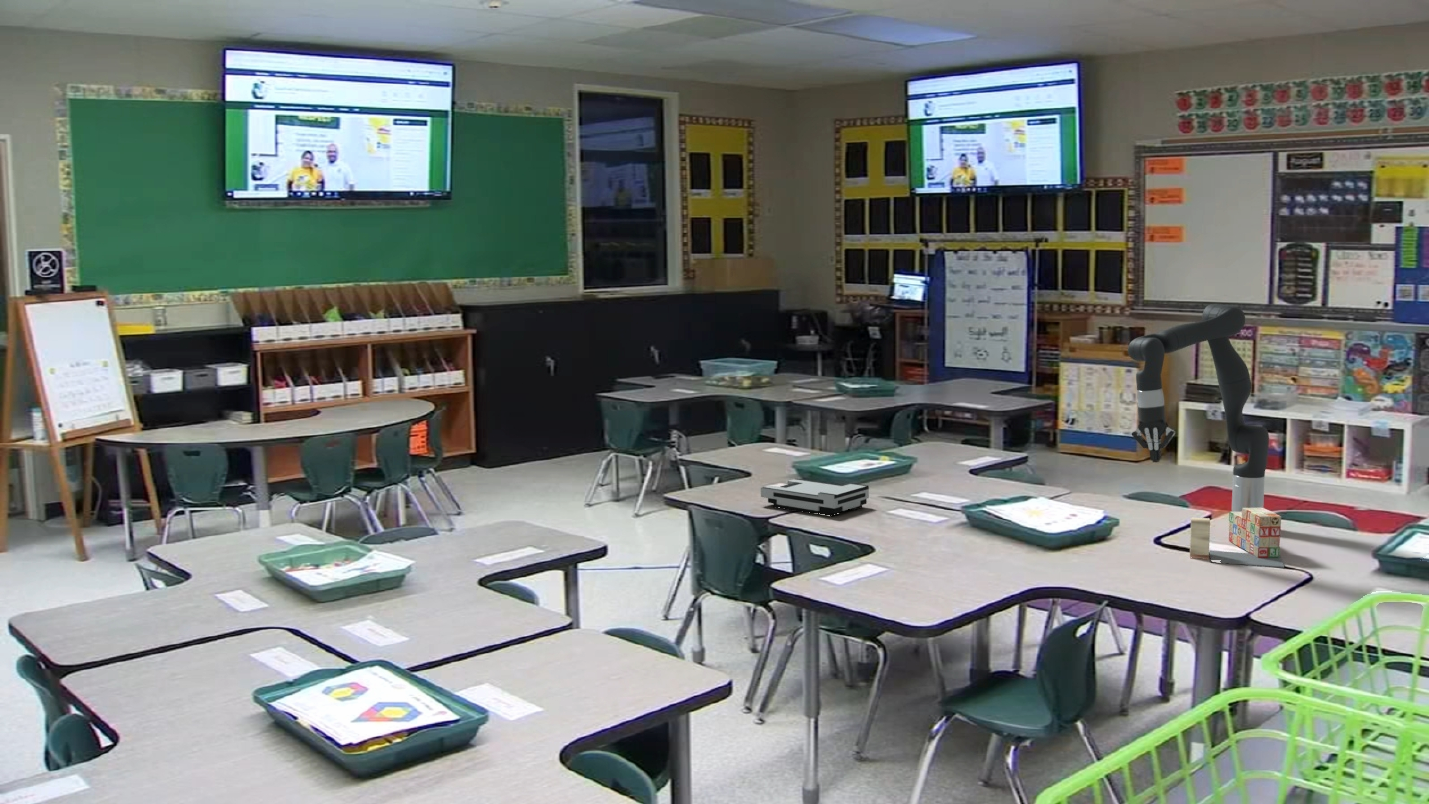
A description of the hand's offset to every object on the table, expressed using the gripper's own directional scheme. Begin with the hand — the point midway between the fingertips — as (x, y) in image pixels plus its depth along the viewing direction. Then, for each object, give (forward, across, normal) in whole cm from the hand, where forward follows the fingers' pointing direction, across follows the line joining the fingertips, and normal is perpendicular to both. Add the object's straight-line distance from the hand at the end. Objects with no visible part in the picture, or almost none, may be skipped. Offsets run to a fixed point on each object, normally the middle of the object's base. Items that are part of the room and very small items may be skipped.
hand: (1156, 461), depth 359 cm
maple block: (+28, -11, +4) cm, 30 cm away
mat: (+29, -23, 0) cm, 37 cm away
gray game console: (+14, +119, +8) cm, 120 cm away
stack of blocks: (+29, -22, -13) cm, 39 cm away
